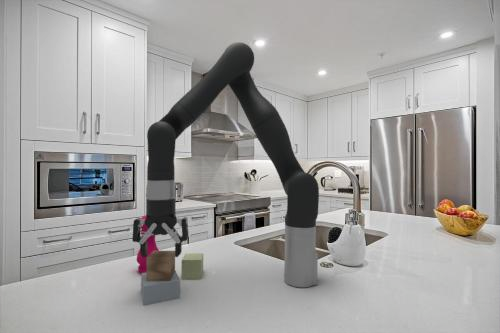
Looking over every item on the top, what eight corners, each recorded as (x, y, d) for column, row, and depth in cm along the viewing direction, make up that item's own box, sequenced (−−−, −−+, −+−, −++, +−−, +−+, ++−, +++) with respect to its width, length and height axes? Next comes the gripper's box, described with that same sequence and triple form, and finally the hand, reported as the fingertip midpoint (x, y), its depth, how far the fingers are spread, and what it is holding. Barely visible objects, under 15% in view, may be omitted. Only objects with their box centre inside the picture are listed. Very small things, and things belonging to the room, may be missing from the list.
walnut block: (175, 271, 76) (175, 250, 76) (169, 280, 70) (169, 258, 70) (153, 271, 75) (153, 250, 75) (146, 281, 69) (146, 258, 69)
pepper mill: (134, 276, 83) (135, 212, 83) (138, 267, 90) (138, 208, 90) (159, 274, 85) (159, 211, 85) (160, 265, 92) (161, 208, 92)
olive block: (203, 271, 88) (203, 253, 88) (201, 279, 82) (201, 259, 82) (184, 271, 88) (184, 253, 88) (181, 279, 82) (181, 260, 82)
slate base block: (174, 285, 78) (174, 268, 78) (180, 299, 70) (180, 280, 70) (141, 291, 74) (141, 273, 74) (143, 306, 66) (143, 286, 66)
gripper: (189, 195, 76) (189, 251, 76) (138, 195, 75) (138, 252, 75) (185, 198, 69) (185, 261, 69) (128, 198, 68) (128, 262, 68)
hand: (161, 256), depth 72 cm, fingers open, 8 cm apart
